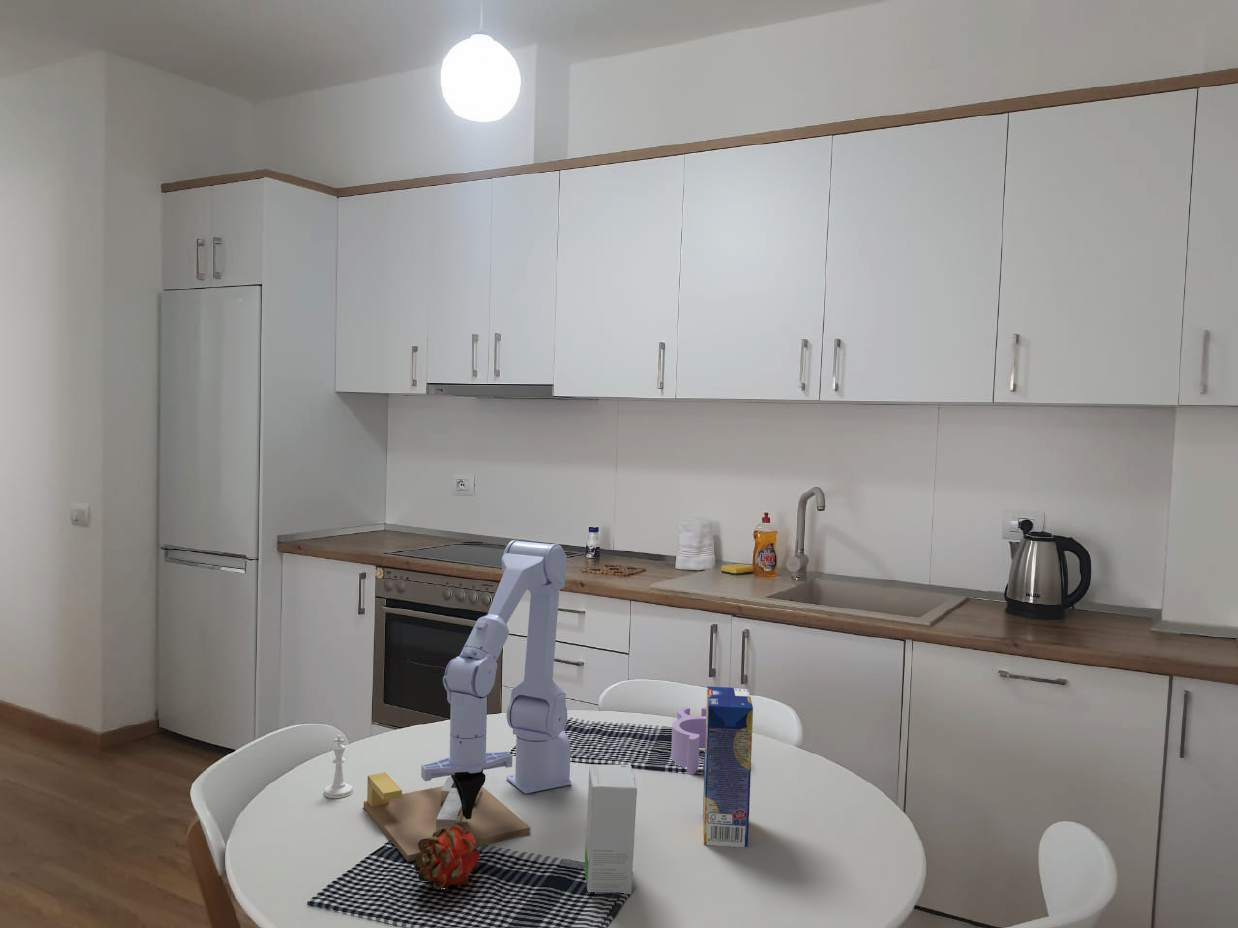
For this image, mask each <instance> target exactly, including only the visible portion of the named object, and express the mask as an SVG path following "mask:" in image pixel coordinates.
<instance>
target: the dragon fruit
mask: <svg viewBox="0 0 1238 928" xmlns="http://www.w3.org/2000/svg"><path fill="white" fill-rule="evenodd" d="M475 844H476V841H475V837H474V836H473V834H472V833H471V832H470V831H469V830H468V829H467V830H464V831H463V828H462V827H460V826H459V825H453V826H452V827H450V828H449V829H448V831H447V830H446V829H445V828H443V829H440V830H438V831H436V832H434V833H433V836H432V837H431V838H426V839H421V840H420V841H419V842H418V847H419V850H420V852H419V853H418V855H417V856H416V858H415V859H416V860H415V861H414V863H413V868H414V871H416V872H418V874H417V875H418V876H417V877H418V879H419V881H420V882H425V883H430V882H431V883H432V888H433V889H436V890H439V889H441V888H442V887H443V888H445V890H446V889H448V888H449V886H450V885H455V886H457V887H459V886H462V885H463V887H466V886H467V885H468V884H469V879H470V878H469V874H470V873H471V872H472V870H473V869H475V868H476V867H477V865H478V863H479V861H480V850H479V848H478V846H476V845H475Z"/></svg>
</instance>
